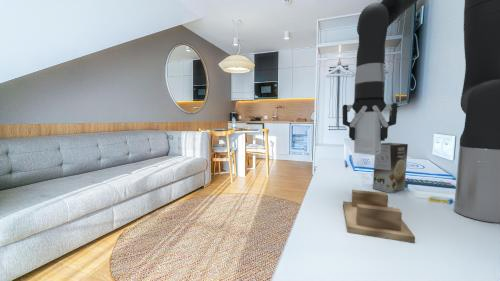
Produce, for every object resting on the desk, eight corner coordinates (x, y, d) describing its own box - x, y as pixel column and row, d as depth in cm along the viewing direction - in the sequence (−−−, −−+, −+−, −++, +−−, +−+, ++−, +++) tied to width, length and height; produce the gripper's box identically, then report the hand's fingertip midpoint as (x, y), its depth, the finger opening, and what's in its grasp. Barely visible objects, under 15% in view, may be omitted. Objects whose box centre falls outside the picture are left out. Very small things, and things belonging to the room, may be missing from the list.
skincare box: (381, 154, 63) (383, 111, 62) (374, 155, 60) (376, 111, 59) (359, 151, 68) (361, 112, 67) (352, 153, 65) (354, 111, 64)
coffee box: (391, 193, 72) (394, 145, 71) (372, 188, 77) (374, 143, 76) (405, 189, 77) (408, 143, 75) (386, 185, 82) (388, 142, 81)
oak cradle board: (392, 211, 58) (393, 192, 57) (414, 242, 43) (416, 216, 42) (342, 205, 62) (343, 187, 61) (347, 232, 47) (348, 208, 46)
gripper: (395, 83, 64) (392, 140, 65) (341, 86, 68) (339, 139, 70) (403, 78, 57) (400, 142, 58) (342, 81, 61) (341, 140, 63)
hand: (367, 140), depth 64 cm, fingers closed on skincare box, 7 cm apart
